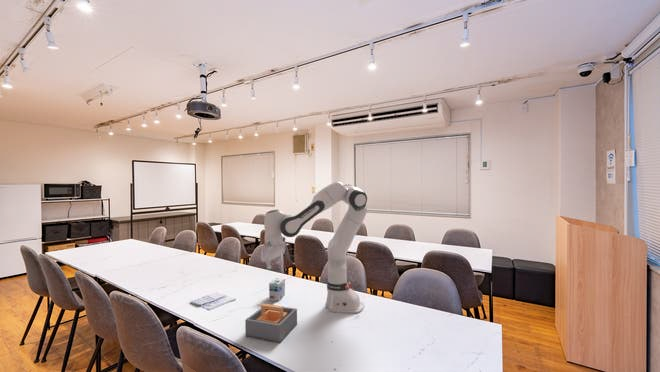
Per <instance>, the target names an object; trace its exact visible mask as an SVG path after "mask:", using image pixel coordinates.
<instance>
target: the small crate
mask: <svg viewBox="0 0 660 372" xmlns="http://www.w3.org/2000/svg"><path fill="white" fill-rule="evenodd" d="M260 305H261V306H260V309H261V316H260V317H259V318H257V319H256V320H258V321H264V322H270V323H276V324H279V323H280V322H281V321H282V320H283V319H284V318H285V317H286V316H287V315H288V313H286V312H283V307H284V306H282V305H277V304H276V305H275V304H269V303H262V304H260ZM265 309H270V310H267V311H266V312H265ZM273 310H276V311H273Z"/></svg>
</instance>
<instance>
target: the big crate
mask: <svg viewBox="0 0 660 372" xmlns="http://www.w3.org/2000/svg"><path fill="white" fill-rule="evenodd" d="M267 310H270V309H265V312H266V311H267ZM273 311H276V310H273ZM283 312H286V313H288V315H287V316H286V317H285V318H284V319H283V320H282V321H281V322H280V323H279V324H276V323H270V322H264V321H258V320H256V319H257V318H259V317H260V316H261V308H260V309H258V310H256V311H255V312H254V313H253V314H251V315H249V317H247V318H246V319H245V321H244V322H245V338H248V337H249V339H254V340H259V341H265V342H271V343H275V342H276V343H277V344H281V343H282V342H283V341H284V340H285V338H286V337H288V335H289V334H290V333H291V332H292V331H293V330H294V329H295V328H296V326H297V325H298V309H297V308H295V307H287V306H283Z"/></svg>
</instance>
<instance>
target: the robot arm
mask: <svg viewBox="0 0 660 372" xmlns="http://www.w3.org/2000/svg"><path fill="white" fill-rule="evenodd" d="M340 201H342V202H344V203H345V204H347V205H348V209H347V211H346V213H345V214H344V216H343V218H342V220H341V221H340V223H339V225H338V226H337V229H336V231H335V233H334V235H333V237H332V238H331V239H330V240H329V241H328V245H327V249H326V250H327V251H326V252H327V281H326V290H327V293H326V294H327V296H326V301H325V308H327V309H328V310H329V311H330V312H331V313H345V314H347V313H349V314H350V313H351V314H359V313H361V312H362V311H363V309H364V307H365V303H364V301H361V300H360V295H359V294H358V293H357V292H356V291H355V290H354V289H352V288H351V282H350V281H347V253H348V252H349V249H350V247H351V245H352V243H353V242H354V238H355V236H356V235H357V233H358V231H359V229H360V228H361V226H362V224H363V222H364V220H365V218H366V214H367V212H368V211H367V210H368V209H367V207H366V206H367V203H368V195H367V194H366V192H365V191H364V190H362V189H360V188H359V187H357V186H354V185H351V184H343V183H342V182H341V181H334V182H332V183H330V184H328V185H327V186H325V187H323V188H321V190H319V191H318V192H317V193H315V195H313V198H312V201H311V202H310V203H309V205H307V207H305V208H304V209H303V210H301V211H300V212H299V213H297V214H296V215H291V214H287V213H285V212H283V211H281V210H279V209H272V210H269V211H267V212H266V213H265V215H264V221H263V223H264V225H263V227H264V244H263V246H262V248H261V250H260V251H261V252H260V261H261V263H265V264H266V269H267V270H271V269H272V265H271V261H273V260H274V259H276V260H275V264H276V265H280V264H281V259H282V255H284V254H285V252H286V240H287V239H286V237H287V238H293V237H296V236H298V234H299V233H300V231H301V229H302V228H303V227H304V226H305V225H306V224H307V223H308V222H310V221H311V220H312V219H313V218H315V217H316V216H318V215H319V214H321V213H323V212H324V211H327V210H329V209H330V208H332V207H333V206H335V205H337V203H339V202H340ZM282 235H283V236H282Z"/></svg>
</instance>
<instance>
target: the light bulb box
mask: <svg viewBox="0 0 660 372" xmlns="http://www.w3.org/2000/svg"><path fill="white" fill-rule="evenodd" d="M285 283H286V280H285V278H281V277H275V278H273V280H272V281H270V282H269V283H268V291H269V292H268V294H269V295H268V300H269V301H272V302H273V301H275V302H280V300H283V298H284V296H285V295H286V284H285Z"/></svg>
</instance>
